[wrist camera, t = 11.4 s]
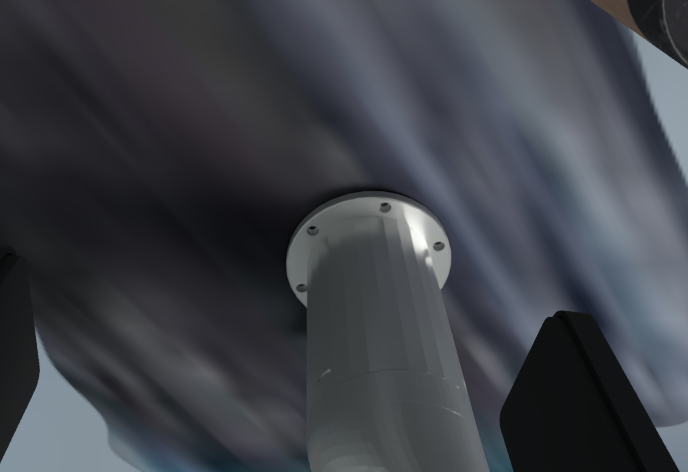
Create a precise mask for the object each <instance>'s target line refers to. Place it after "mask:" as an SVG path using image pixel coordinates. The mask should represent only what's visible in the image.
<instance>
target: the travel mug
mask: <svg viewBox="0 0 688 472" xmlns="http://www.w3.org/2000/svg"><path fill="white" fill-rule="evenodd" d="M590 1H592V2H593V3H595V4H596V5H597V6H599V7H600V8H602V9H603V10H605V11H606V12H607V13H609V14H610V15H612V16H613V17H614V18H616V19H617V20H619V21H620V22H622V23H623V24H624V25H626V26H627V27H629V28H630V29H631V30H633V31H634V32H636V33H637V34H639V35H640V36H641V37H643V38H644V39H646V40H647V41H648V42H650V43H651V44H653V45H654V46H655V47H657V48H658V49H660V50H661V51H663V52H664V53H665V54H667V55H668V56H670V57H671V58H672V59H674V60H675V61H677V62H678V63H680V64H681V65H682V66H684V67H685V68H687V69H688V0H590Z"/></svg>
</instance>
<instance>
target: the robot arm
mask: <svg viewBox="0 0 688 472" xmlns="http://www.w3.org/2000/svg"><path fill="white" fill-rule="evenodd" d="M450 266H451V250H450V246H449V242H448V238H447V236H446V233H445V230H444V228H443V226H442V225H441V223H440V222H439V220H438V219H437V218H436V216H435V215H434V214H433V213H431V212H430V211H429V210H428V209H427V208H426V207H425V206H423V205H421V204H420V203H418V202H416V201H415V200H413V199H410V198H407V197H405V196H402V195H399V194H395V193H389V192H384V191H363V192H356V193H350V194H346V195H343V196H340V197H337V198H334V199H332V200H330V201H328V202H326V203H324V204H322V205H320V206H319V207H317V208H316V209H315V210H313V211H312V212H311V213H310V214H308V215H307V216H306V217H305V218H304V219H303V221H302V222H301V223H300V224H299V225H298V226H297V228H296V230H295V232H294V233H293V235H292V237H291V239H290V243H289V246H288V249H287V259H286V268H287V277H288V280H289V283H290V286H291V288H292V290H293V292H294V293H295V295H296V297H297V298H298V299H299V300H300V301H301V302H302V303H303V305H304V306H305V307H306V308H307V452H308V460H309V463H310V467H311V471H312V472H490V471H489V468H488V465H487V462H486V458H485V455H484V451H483V448H482V445H481V441H480V438H479V434H478V430H477V427H476V423H475V419H474V415H473V412H472V408H471V404H470V400H469V397H468V393H467V389H466V385H465V381H464V378H463V374H462V370H461V366H460V363H459V359H458V355H457V351H456V348H455V344H454V340H453V336H452V333H451V329H450V325H449V321H448V318H447V314H446V310H445V306H444V303H443V299H442V295H441V291H440V290H441V289H442V288H443V285H444V283H445V281H446V279H447V277H448V274H449V270H450ZM39 367H40V366H39V359H38V350H37V343H36V334H35V327H34V319H33V311H32V303H31V295H30V287H29V280H28V272H27V264H26V260H25V258H24V257H21V256H16V253H15V251H14V249H13V248H12V247H9V246H0V462H1V460H2V458H3V456H4V454H5V452H6V450H7V448H8V446H9V443H10V441H11V439H12V437H13V435H14V433H15V431H16V429H17V427H18V424H19V423H20V420H21V418H22V416H23V414H24V412H25V410H26V408H27V406H28V404H29V402H30V399H31V397H32V395H33V393H34V391H35V389H36V386H37V383H38V379H39V373H40V368H39ZM500 428H501V432H502V435H503V438H504V441H505V445H506V448H507V451H508V454H509V458H510V461H511V464H512V468H513V471H514V472H680V471H679V470H678V468H677V466H676V464H675V462H674V461H673V459H672V457H671V455H670V453H669V452H668V450H667V448H666V446H665V445H664V443H663V441H662V439H661V438H660V436H659V434H658V432H657V430H656V428H655V427H654V425H653V423H652V421H651V419H650V418H649V416H648V414H647V412H646V410H645V409H644V407H643V405H642V403H641V401H640V400H639V398H638V396H637V394H636V393H635V391H634V389H633V387H632V385H631V384H630V382H629V380H628V378H627V376H626V375H625V373H624V371H623V369H622V367H621V366H620V364H619V362H618V360H617V358H616V357H615V355H614V353H613V351H612V349H611V348H610V346H609V344H608V342H607V341H606V339H605V337H604V335H603V333H602V332H601V330H600V328H599V326H598V324H597V323H596V321H595V319H594V318H593V317H592V315H590V314H588V313H580V312H571V311H562V310H561V311H557V312H556V313H555V314H554V316H553V317H548V318H546V319H545V321H544V322H543V324H542V327H541V329H540V331H539V333H538V335H537V337H536V339H535V341H534V343H533V345H532V347H531V349H530V351H529V353H528V355H527V357H526V360H525V362H524V364H523V366H522V368H521V370H520V372H519V374H518V376H517V378H516V380H515V382H514V384H513V386H512V388H511V391H510V393H509V395H508V397H507V399H506V401H505V403H504V405H503V407H502V410H501V413H500Z"/></svg>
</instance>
